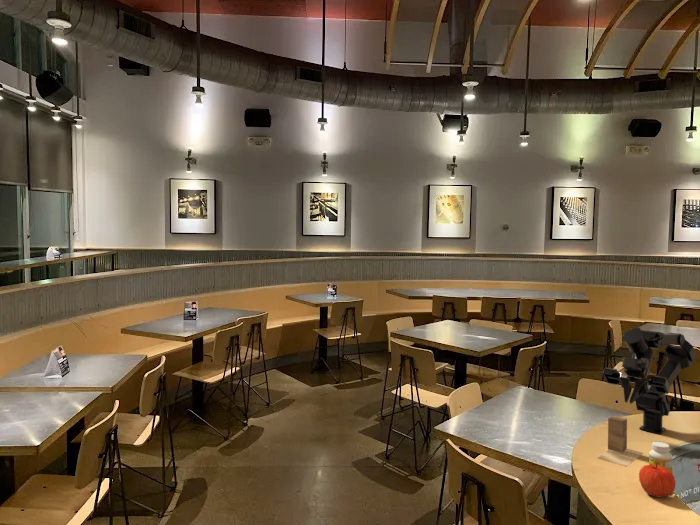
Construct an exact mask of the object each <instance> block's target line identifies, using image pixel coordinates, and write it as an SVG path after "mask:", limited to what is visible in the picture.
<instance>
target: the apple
mask: <svg viewBox="0 0 700 525" xmlns="http://www.w3.org/2000/svg"><path fill="white" fill-rule="evenodd" d="M655 464H656V466H654V465H649V464H645V465H643V466H642V467H641V468H640V469H639V473H638V478H639V483H640V486H641V488H642V489H643V491H644V492H645V493H646V494H648V495H650V496H652V497H658V498H665V497H669V496H671V495H672V494H673V493H674V491H675V489H676V479H675V476H674V474H673V472H672V473H671V472H670V471H669V470H668V469H666V468H663V467H659V466H657V463H655Z"/></svg>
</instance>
